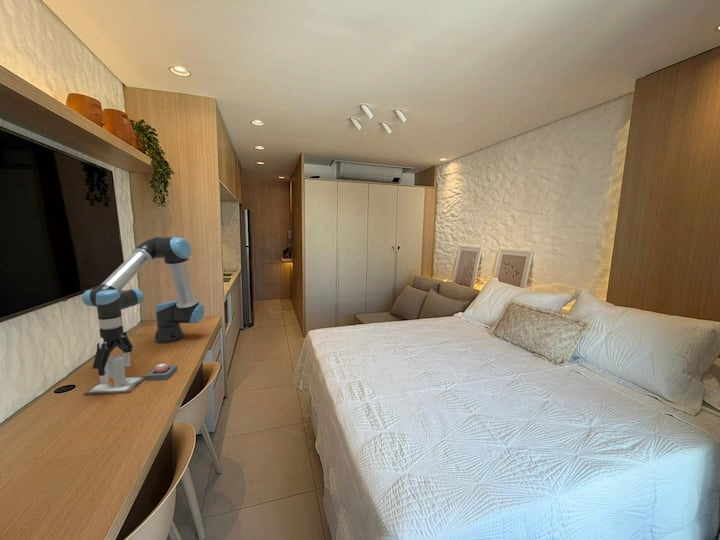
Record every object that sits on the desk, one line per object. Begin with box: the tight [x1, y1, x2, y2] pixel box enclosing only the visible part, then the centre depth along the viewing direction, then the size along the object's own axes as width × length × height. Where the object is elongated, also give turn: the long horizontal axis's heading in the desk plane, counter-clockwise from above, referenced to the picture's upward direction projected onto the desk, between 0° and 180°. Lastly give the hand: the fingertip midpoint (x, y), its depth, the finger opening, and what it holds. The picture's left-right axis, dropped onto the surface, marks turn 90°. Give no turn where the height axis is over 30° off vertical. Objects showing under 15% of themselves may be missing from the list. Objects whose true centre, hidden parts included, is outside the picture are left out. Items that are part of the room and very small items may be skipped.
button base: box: [145, 365, 178, 382], centre depth 134 cm, size 9×9×2 cm
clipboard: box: [83, 375, 146, 396], centre depth 125 cm, size 13×17×1 cm
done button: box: [154, 362, 169, 373], centre depth 134 cm, size 5×5×3 cm
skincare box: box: [106, 354, 127, 387], centre depth 124 cm, size 6×4×12 cm
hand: (116, 373), depth 124 cm, fingers open, 13 cm apart
